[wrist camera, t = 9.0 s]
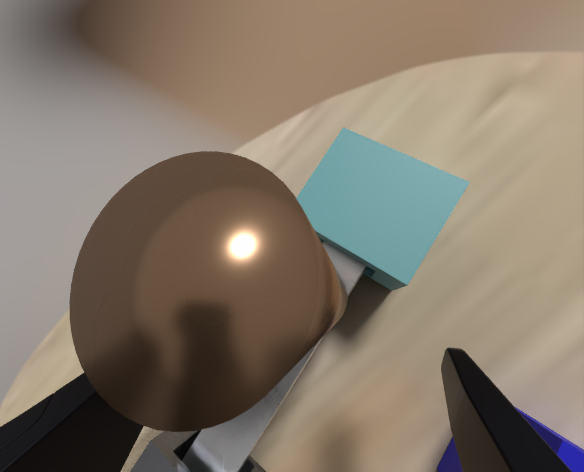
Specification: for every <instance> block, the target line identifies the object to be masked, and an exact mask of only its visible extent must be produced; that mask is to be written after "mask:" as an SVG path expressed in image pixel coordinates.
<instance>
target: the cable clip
mask: <svg viewBox="0 0 584 472" xmlns="http://www.w3.org/2000/svg"><path fill="white" fill-rule="evenodd" d="M515 408H516V407H515ZM516 409H517V408H516ZM517 410H518V412H519V413H520V414H521V415H522V416H523V417H524V418H525V419H526V420H527V422H528V423H529V424H530V425H531V426H532V427H533V428H534V429H535V431H536V432H537V433H538V434H539V435H540V436H541V437H542V438H543V439H544V441H545V442H546V443H547V444H548V445H549V446H550V447H551V448H552V450H553V451H554V452H555V453H556V454H557V455H558V456H559V457H560V459H561V460H562V461H563V462H564V463H565V464H566V465H567V466H568V467H569V469H570V470H571V471H572V472H584V450H583V449H582V448H580V447H578V446H577V445H575V444H573V443H572V442H570V441H569V440H567V439H565V438H564V437H562V436H561V435H559V434H557V433H556V432H554V431H553V430H551V429H549V428H548V427H546V426H545V425H543V424H541V423H540V422H538V421H536V420H535V419H533V418H532V417H530V416H528V415H527V414H525V413H524V412H522V411H520V410H519V409H517ZM437 469H438V471H439V472H463V471H462V467H461V464H460V460H459V456H458V453H457V449H456V446H455V442H454V438H452V439H451V441H450V443H449V445H448V447H447V449H446V451H445V453H444V455H443V457H442V459H441V461H440V463H439V465H438V467H437Z"/></svg>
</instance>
